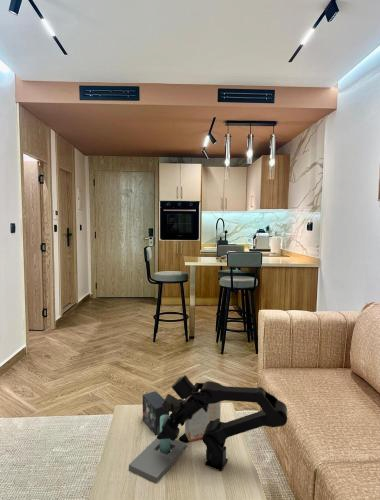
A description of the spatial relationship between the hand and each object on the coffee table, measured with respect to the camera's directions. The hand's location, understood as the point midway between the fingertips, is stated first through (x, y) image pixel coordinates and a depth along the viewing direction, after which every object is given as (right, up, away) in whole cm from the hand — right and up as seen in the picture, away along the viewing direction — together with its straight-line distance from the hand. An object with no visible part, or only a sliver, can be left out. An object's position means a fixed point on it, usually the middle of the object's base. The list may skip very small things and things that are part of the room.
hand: (161, 430), depth 127 cm
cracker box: (+16, -8, +12) cm, 21 cm away
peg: (+1, -9, 0) cm, 9 cm away
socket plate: (-1, -9, -3) cm, 9 cm away
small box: (-4, -7, +17) cm, 19 cm away
